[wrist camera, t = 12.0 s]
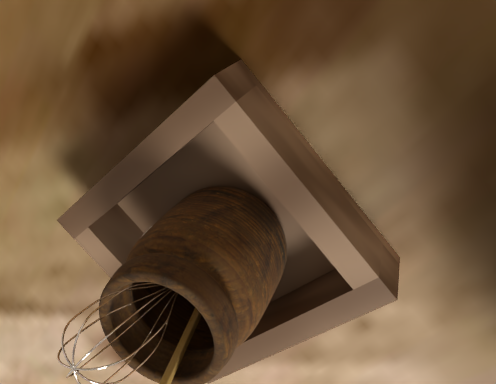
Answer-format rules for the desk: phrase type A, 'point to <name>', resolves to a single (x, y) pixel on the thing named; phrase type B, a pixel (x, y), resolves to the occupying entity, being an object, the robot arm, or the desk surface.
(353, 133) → the desk surface
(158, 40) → the desk surface
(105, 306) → the utensil holder
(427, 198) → the desk surface
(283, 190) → the socket block
